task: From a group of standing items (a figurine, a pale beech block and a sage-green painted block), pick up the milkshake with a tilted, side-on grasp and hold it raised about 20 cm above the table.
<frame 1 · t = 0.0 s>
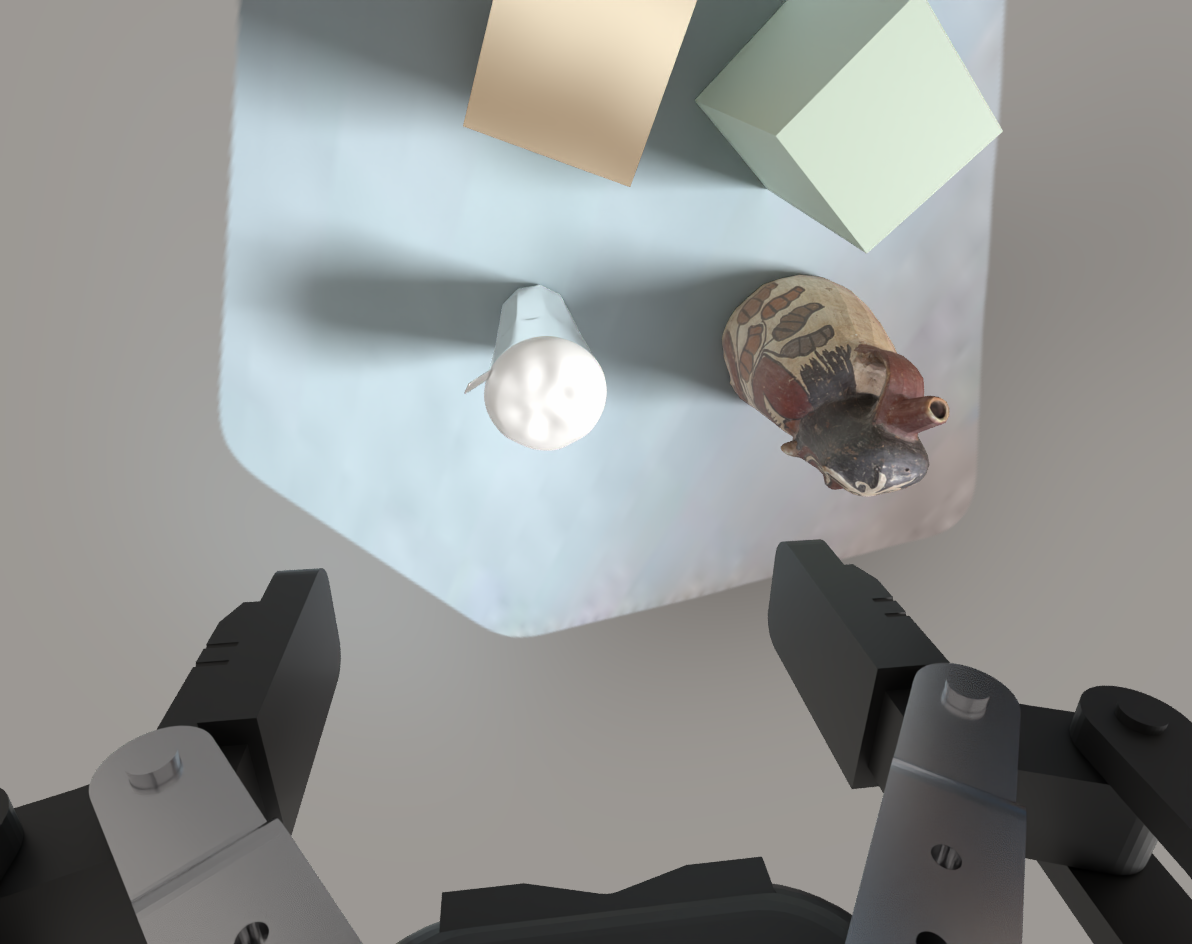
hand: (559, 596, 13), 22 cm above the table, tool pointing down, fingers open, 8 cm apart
beech block: (551, 47, 27), on the table
sage block: (778, 98, 29), on the table
milkshake: (527, 313, 33), on the table
figurine: (787, 339, 36), on the table
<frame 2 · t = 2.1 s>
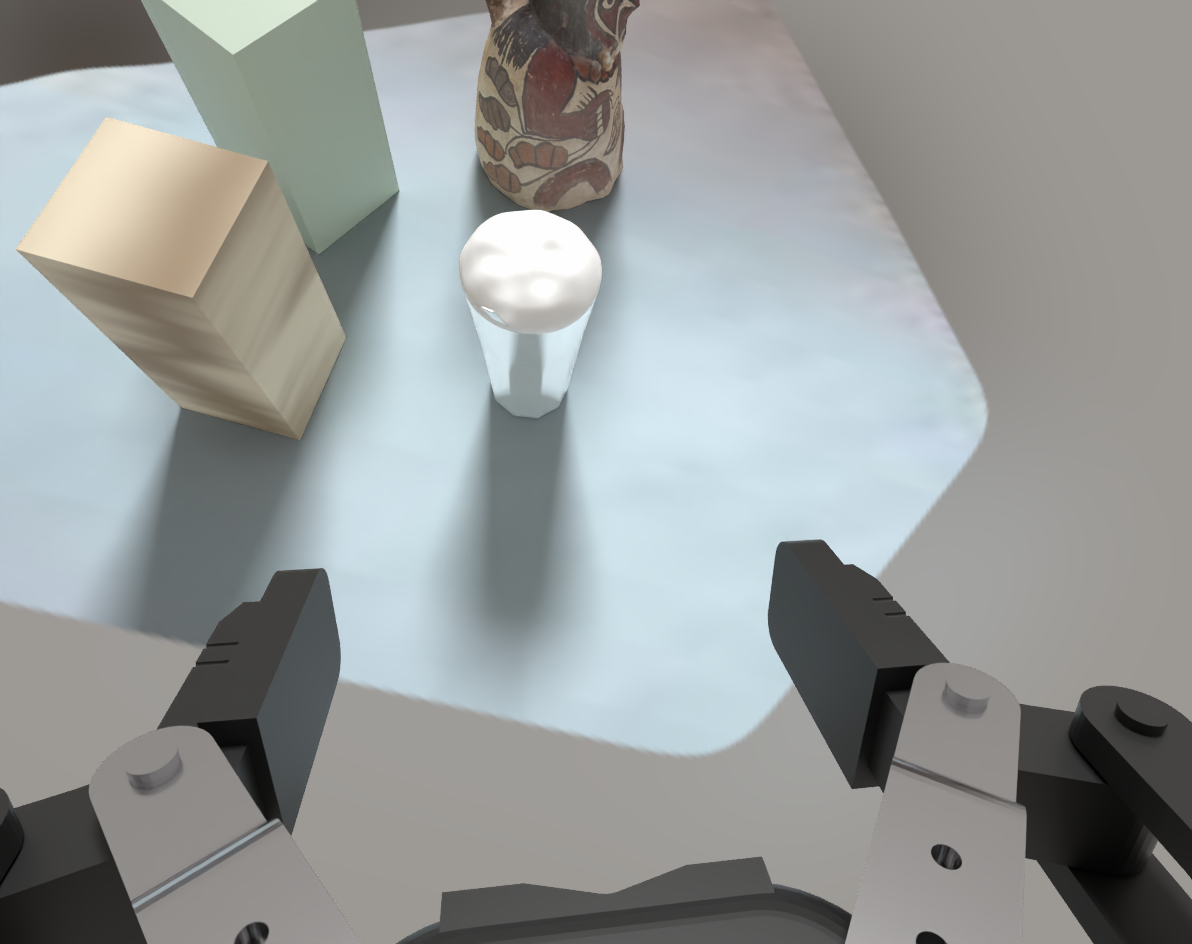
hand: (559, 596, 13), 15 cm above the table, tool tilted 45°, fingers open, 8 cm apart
beech block: (266, 371, 30), on the table
sage block: (321, 191, 33), on the table
milkshake: (525, 394, 31), on the table
figurine: (549, 158, 35), on the table
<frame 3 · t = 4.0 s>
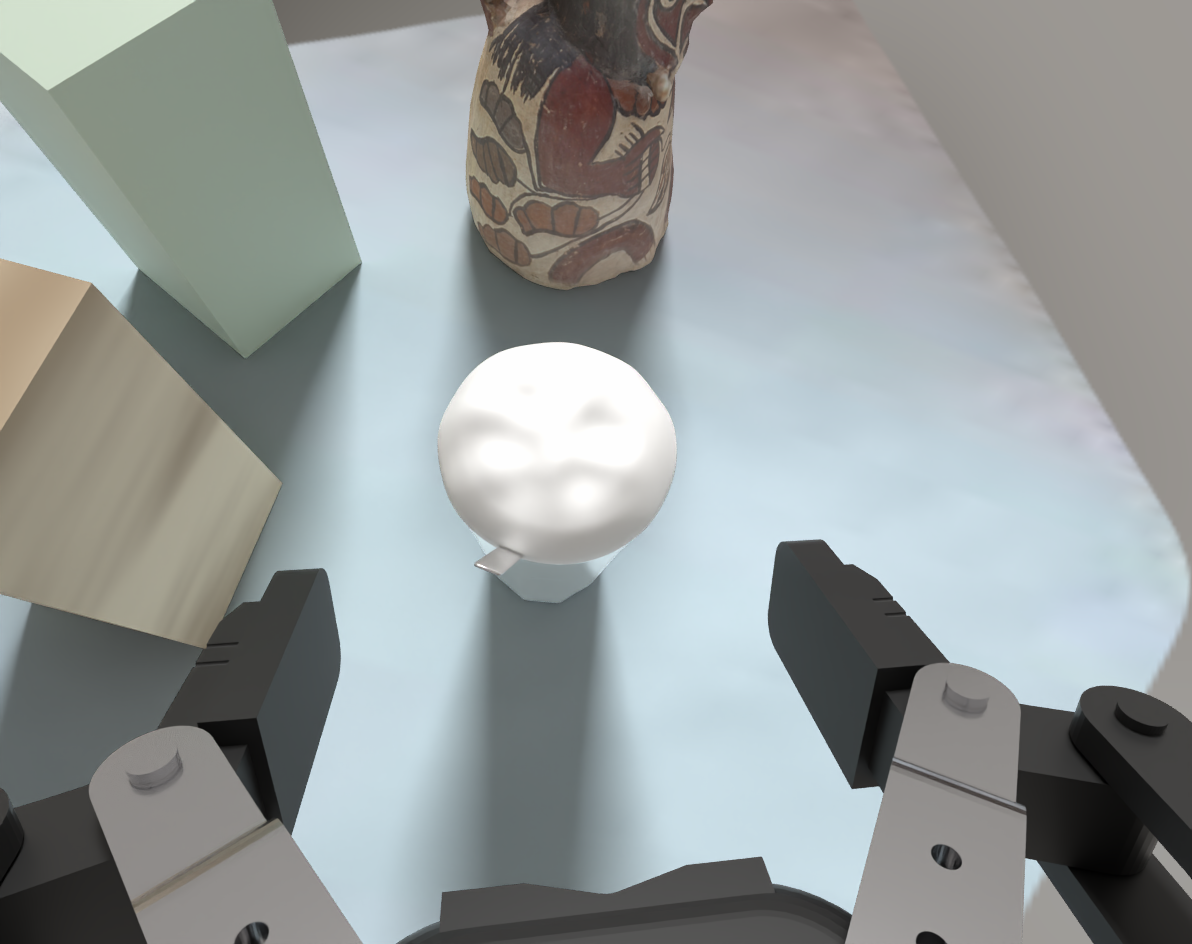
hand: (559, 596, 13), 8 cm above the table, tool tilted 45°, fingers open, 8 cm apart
beech block: (162, 540, 20), on the table
sage block: (252, 265, 24), on the table
milkshake: (540, 564, 21), on the table
figurine: (568, 212, 26), on the table
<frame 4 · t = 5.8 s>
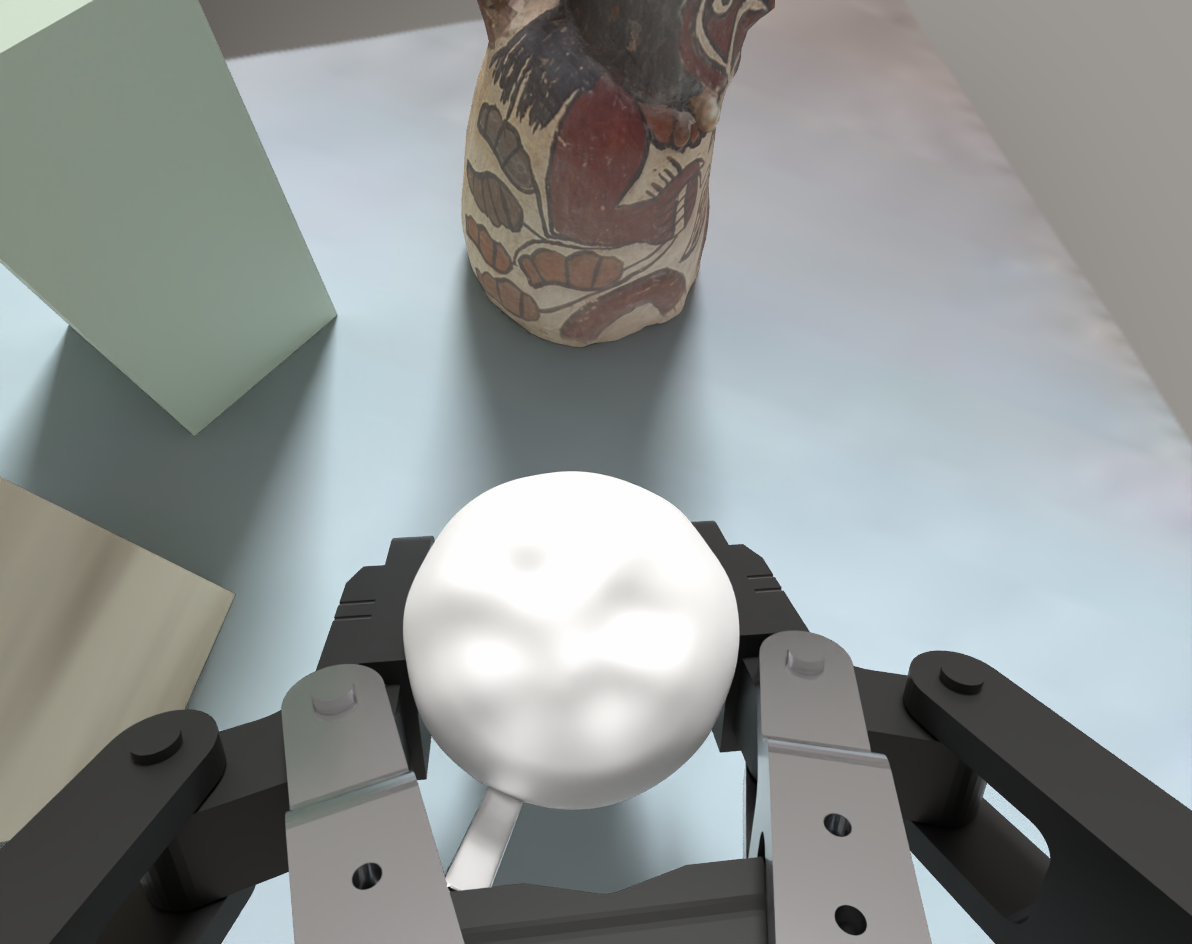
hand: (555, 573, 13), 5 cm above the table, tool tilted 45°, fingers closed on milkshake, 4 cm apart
beech block: (84, 670, 16), on the table
sage block: (206, 319, 20), on the table
milkshake: (552, 693, 17), on the table, touching gripper
figurine: (582, 252, 22), on the table
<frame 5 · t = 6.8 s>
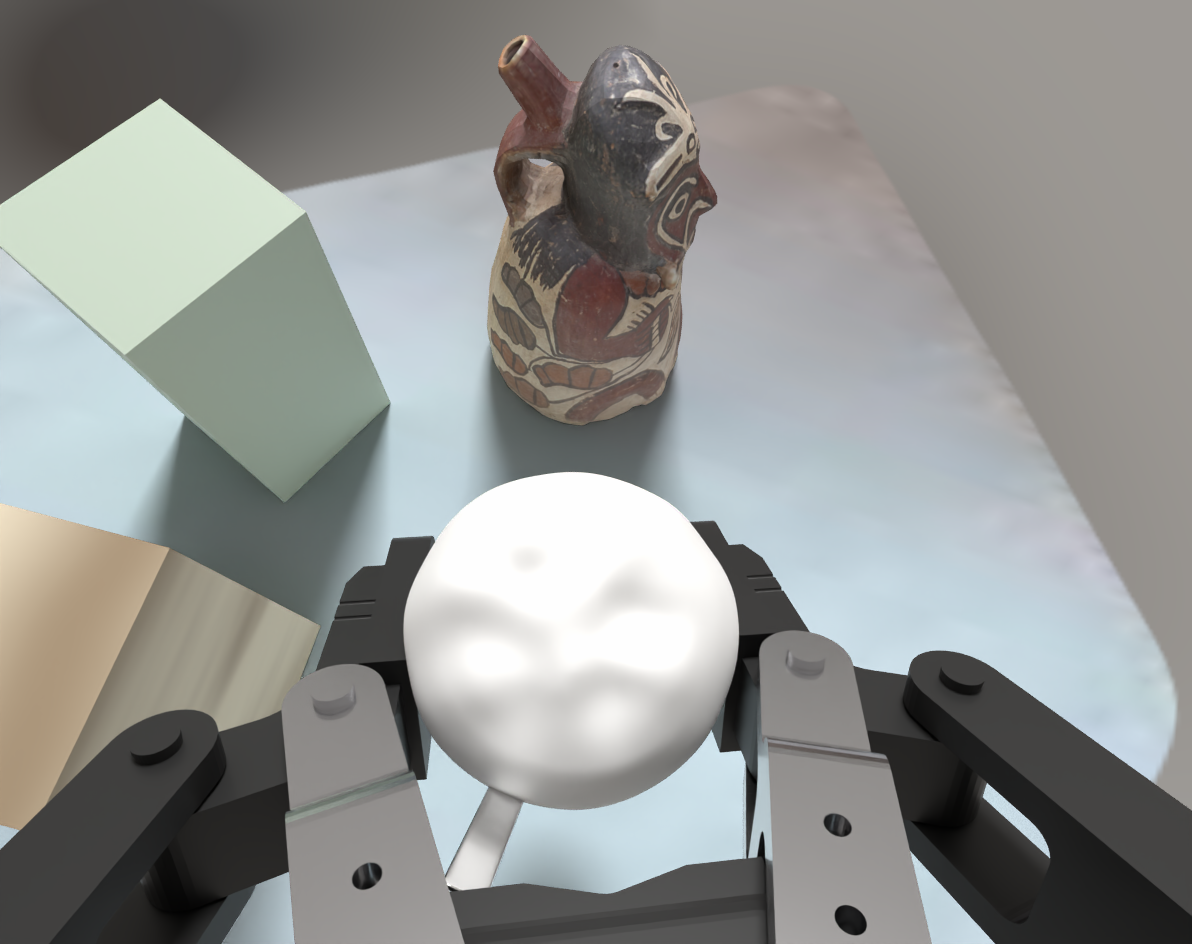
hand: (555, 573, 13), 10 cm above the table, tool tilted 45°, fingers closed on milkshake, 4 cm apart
beech block: (212, 684, 22), on the table
sage block: (289, 408, 25), on the table
milkshake: (552, 693, 17), point 6 cm above the table, touching gripper
figurine: (583, 344, 27), on the table
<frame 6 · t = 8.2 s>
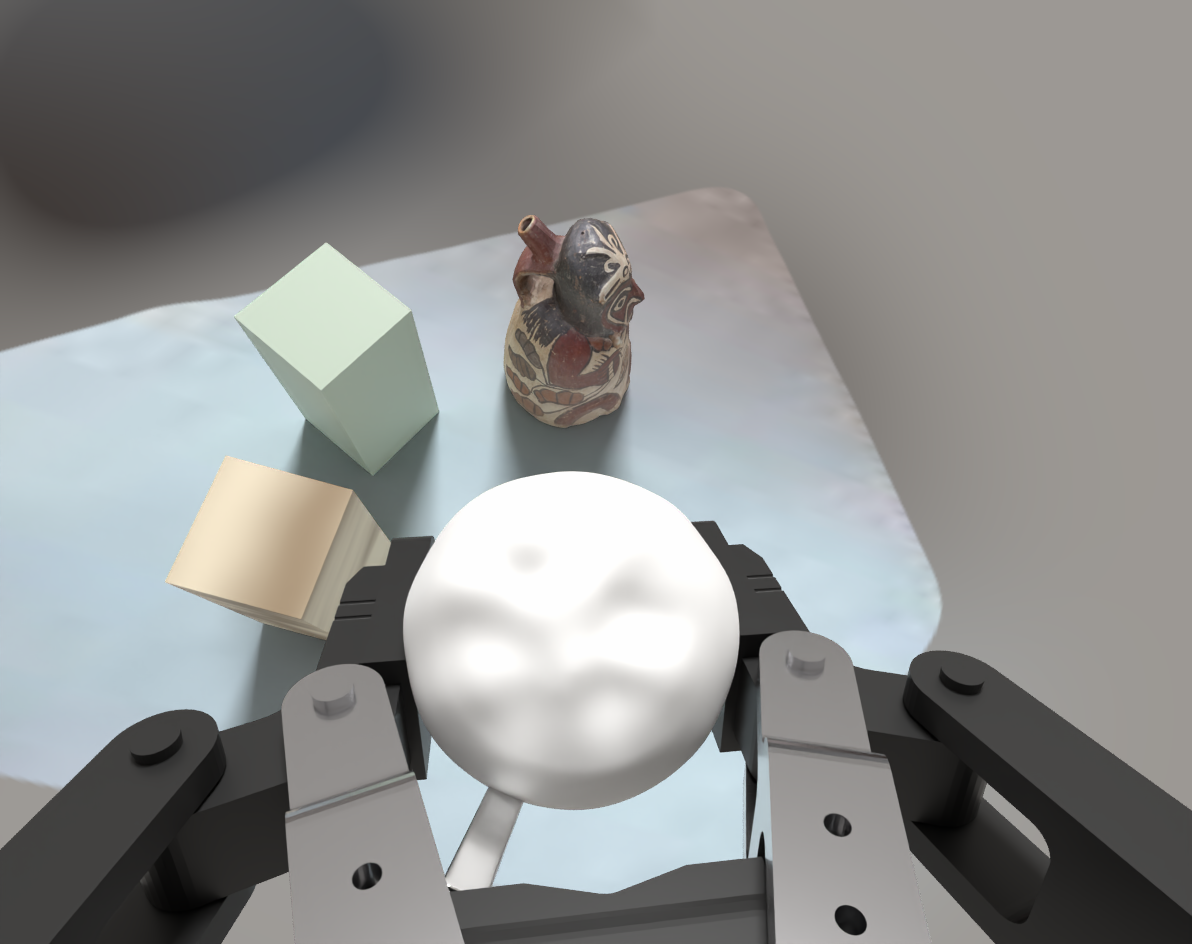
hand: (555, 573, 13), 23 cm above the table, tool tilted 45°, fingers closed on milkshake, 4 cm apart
beech block: (332, 587, 35), on the table
sage block: (373, 415, 39), on the table
milkshake: (552, 693, 17), point 18 cm above the table, touching gripper
figurine: (566, 373, 41), on the table
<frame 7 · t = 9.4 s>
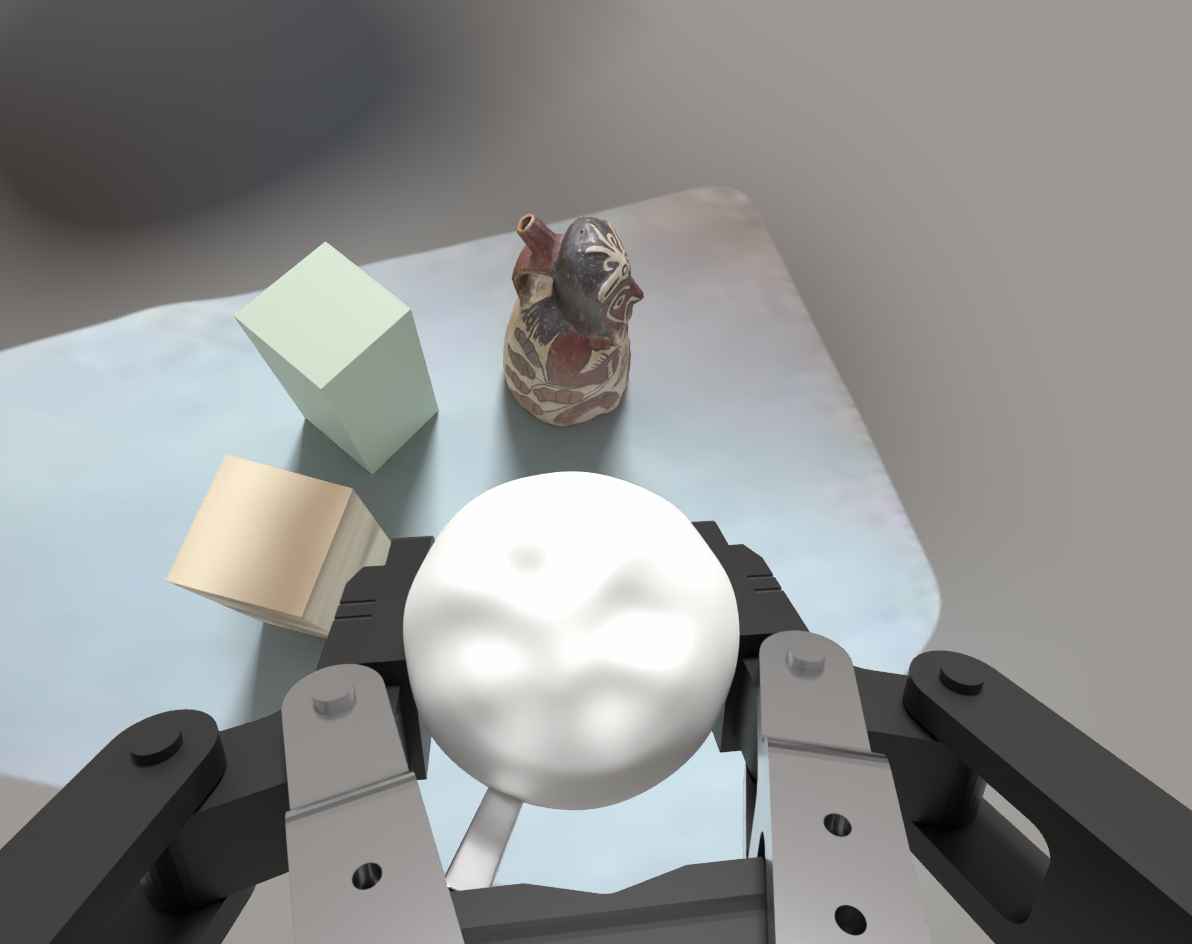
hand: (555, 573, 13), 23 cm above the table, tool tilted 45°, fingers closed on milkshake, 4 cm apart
beech block: (332, 586, 35), on the table
sage block: (372, 414, 39), on the table
milkshake: (552, 693, 17), point 18 cm above the table, touching gripper
figurine: (566, 372, 41), on the table
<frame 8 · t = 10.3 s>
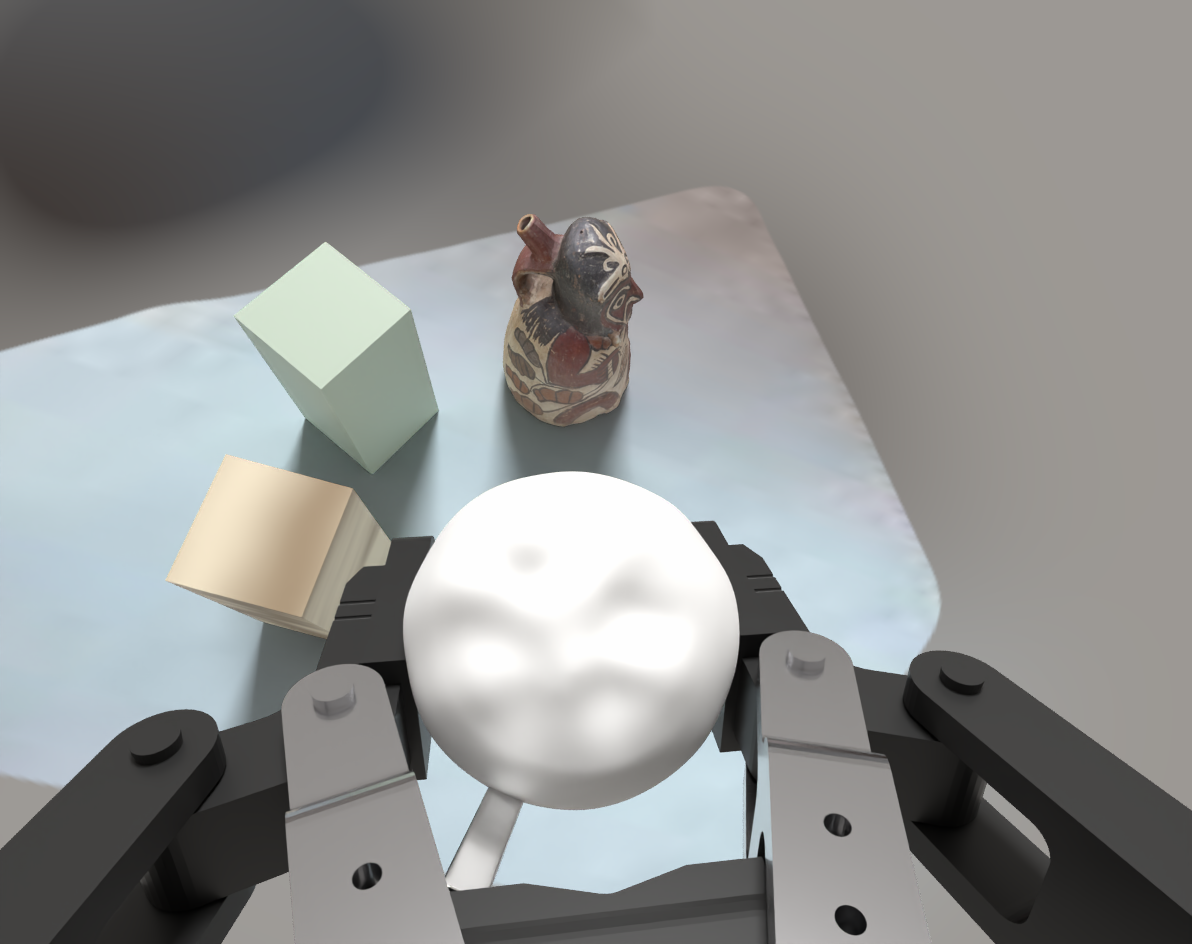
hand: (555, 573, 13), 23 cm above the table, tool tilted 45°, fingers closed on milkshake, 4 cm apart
beech block: (332, 586, 35), on the table
sage block: (372, 414, 39), on the table
milkshake: (552, 693, 17), point 18 cm above the table, touching gripper
figurine: (566, 372, 41), on the table
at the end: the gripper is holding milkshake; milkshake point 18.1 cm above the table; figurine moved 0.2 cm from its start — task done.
